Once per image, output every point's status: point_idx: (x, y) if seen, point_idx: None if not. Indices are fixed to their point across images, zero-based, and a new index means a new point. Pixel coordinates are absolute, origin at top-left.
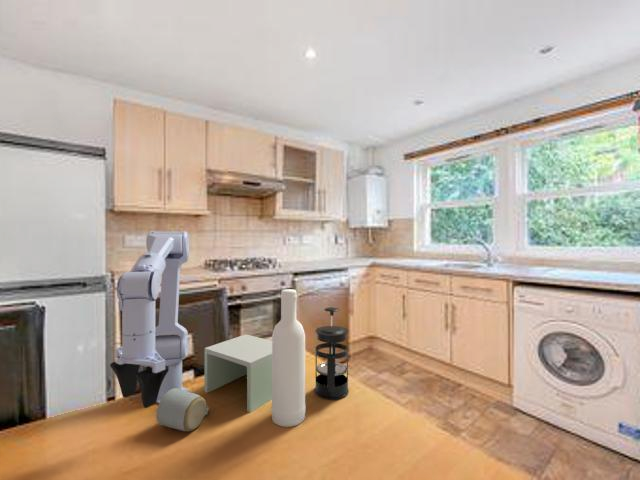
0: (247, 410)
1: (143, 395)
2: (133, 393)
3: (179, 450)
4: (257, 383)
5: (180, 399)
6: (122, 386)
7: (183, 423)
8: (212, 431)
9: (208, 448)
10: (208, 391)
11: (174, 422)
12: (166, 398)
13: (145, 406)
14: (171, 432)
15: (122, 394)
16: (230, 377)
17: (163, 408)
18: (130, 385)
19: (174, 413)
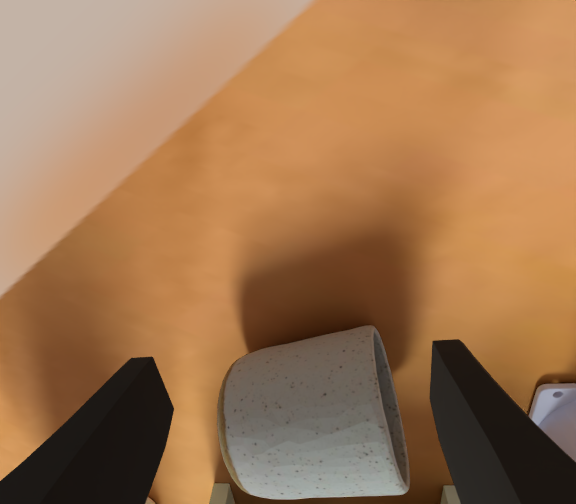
0: (227, 484)
1: (54, 437)
2: (431, 392)
3: (183, 295)
4: None
5: (285, 457)
6: (471, 412)
7: (229, 373)
8: (206, 392)
9: (128, 347)
10: (444, 491)
11: (268, 359)
12: (356, 435)
13: (125, 366)
14: (312, 324)
15: (460, 349)
16: None
17: (338, 387)
18: (453, 444)
19: (271, 391)
